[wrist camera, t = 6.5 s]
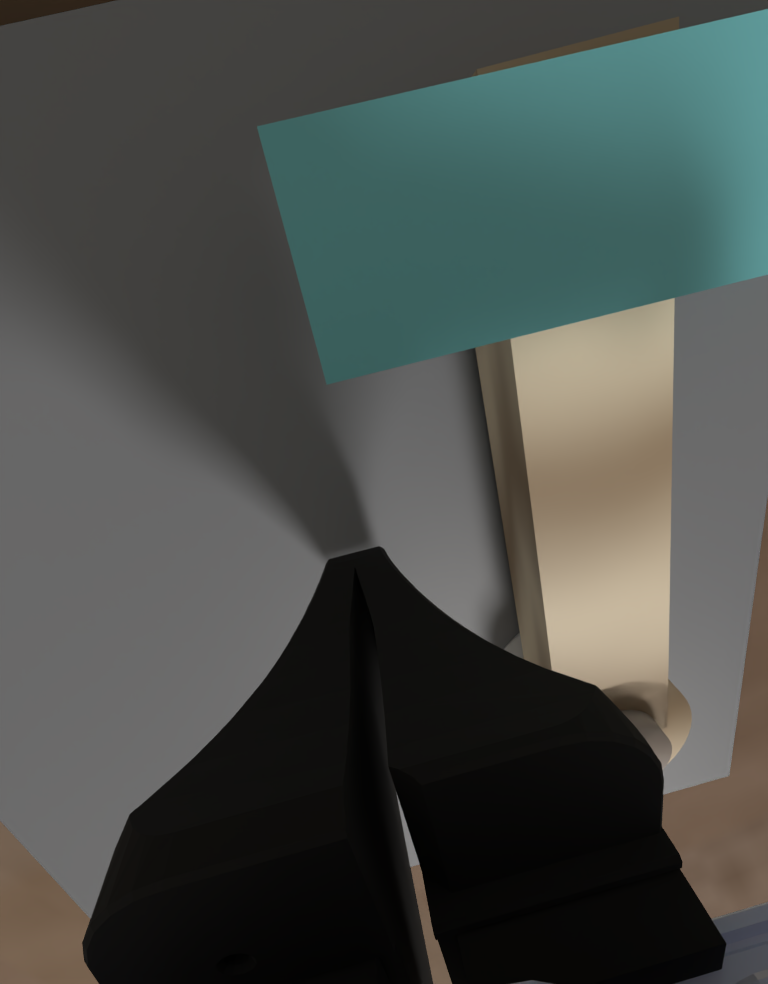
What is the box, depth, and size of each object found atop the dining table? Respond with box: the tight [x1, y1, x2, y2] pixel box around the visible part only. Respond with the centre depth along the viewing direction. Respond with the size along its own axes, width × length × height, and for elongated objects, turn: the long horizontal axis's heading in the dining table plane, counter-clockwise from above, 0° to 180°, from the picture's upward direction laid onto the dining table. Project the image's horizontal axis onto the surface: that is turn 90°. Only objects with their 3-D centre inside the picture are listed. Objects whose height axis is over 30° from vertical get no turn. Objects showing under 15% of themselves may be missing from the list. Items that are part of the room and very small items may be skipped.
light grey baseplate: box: [0, 0, 768, 919], centre depth 13 cm, size 24×25×1 cm
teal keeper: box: [257, 9, 768, 385], centre depth 8 cm, size 10×3×5 cm, turn 102°
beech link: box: [471, 17, 692, 770], centre depth 11 cm, size 17×4×3 cm, turn 14°
